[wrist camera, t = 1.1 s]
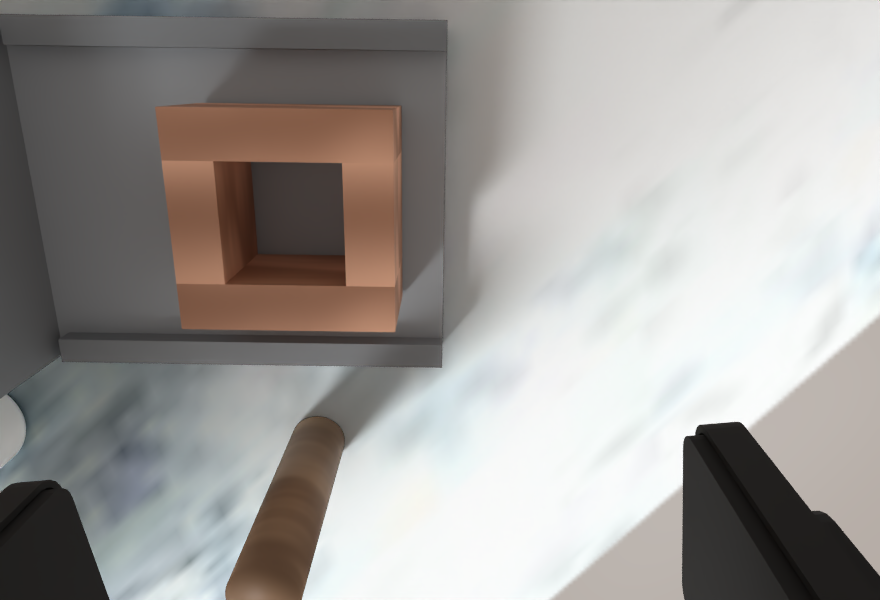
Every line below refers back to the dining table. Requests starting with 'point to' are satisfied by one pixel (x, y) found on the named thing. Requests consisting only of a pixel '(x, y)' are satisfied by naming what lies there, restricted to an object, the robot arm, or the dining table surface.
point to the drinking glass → (10, 429)
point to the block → (234, 228)
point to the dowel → (290, 516)
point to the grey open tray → (143, 191)
